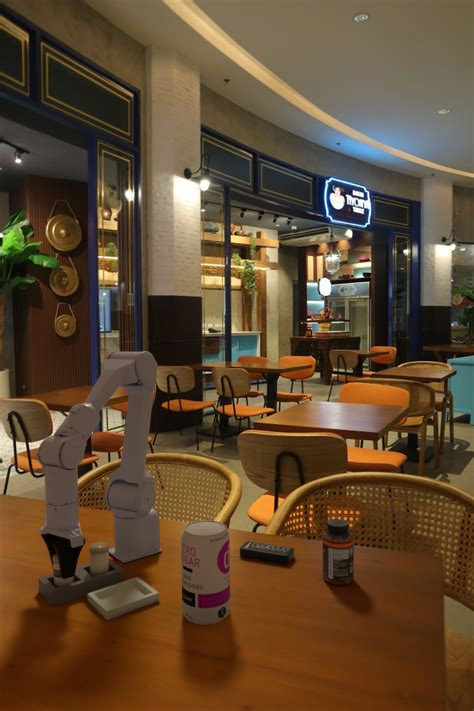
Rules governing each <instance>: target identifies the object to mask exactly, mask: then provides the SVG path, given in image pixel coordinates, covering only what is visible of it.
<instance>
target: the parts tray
mask: <svg viewBox="0 0 474 711" xmlns="http://www.w3.org/2000/svg"><path fill="white" fill-rule="evenodd" d="M87 602H88V603H89V605H90V606H91V607H93V608H94V609H95V610H96V611H97V612H98V613H99V614H100V615H101V616H102V617H103V618H104V619H105V620H106V621H108V620H112V619H114V618H117V617H120V616H122V615H125V614H128V613H131V612H133V611H136V610H138V609H139V610H140V608H144V607H146V606H149V605H151V604H154V603H157V602H160V592H158V590H156V589H155V588H153V587H152V586H150V585H149V584H148V583H147V582H145V581H144V580H142V579H141V578H140V577H138V576H136V577H133V578H129V579H127V580H124V582H121V583H118V584H115V585H112V586H109V587H106V588H103V589H100V590H97V591H94V592H91V593H88V595H87Z"/></svg>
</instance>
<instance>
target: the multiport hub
mask: <svg viewBox="0 0 474 711" xmlns="http://www.w3.org/2000/svg"><path fill="white" fill-rule="evenodd" d="M239 557H240V558H244V559H249V560H254V561H260V562H267V563H273V564H277V565H283V566H289V565H290V564H291V562H293V560H294V559H295V548H293V547H289V546H282V545H277V544H276V545H275V544H270V543H263V542H256V541H251V540H247V541H245V542H244V543H243V544H242V545H241V546H240V547H239Z"/></svg>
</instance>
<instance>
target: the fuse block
mask: <svg viewBox="0 0 474 711" xmlns="http://www.w3.org/2000/svg"><path fill="white" fill-rule="evenodd" d="M124 581H125V569H124V568H123V567H121V566H120V565H118V563H116V562H115V561H113V559H110V558H109V572H106V573H103V574H100V575H97V576H91V575H90V562H88V563H86V564H84V565H83V564H82V565H78V566H76V571H75V575H74V583H71V584H68V585H64V586H61V587H58V588H55V587H54V575H53V573H52V574H49V575H48V574H47V575H45V576H41V577H38V592H39V593H40V595H42V597H43V598H44V599H45V600H46V602H47V603H49V604H50V605H51V607H54V606H57V605H60V604H63V603H66V602H69V601H73V600H75V599H78V598H79V599H80V598H81V597H85V596H88V593H91V592H94V591H97V590H100V589H103V588H106V587H109V586H112V585H115V584H118V583H121V582H124Z"/></svg>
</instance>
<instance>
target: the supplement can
mask: <svg viewBox="0 0 474 711" xmlns="http://www.w3.org/2000/svg"><path fill="white" fill-rule="evenodd" d="M180 542H181V543H180V550H181V553H180V554H181V561H180V562H181V613H182V615H183V616H184V617H185V618H186V619H187V620H188V621H189V622H190V623H192V624H195V625H201V626H208V625H210V626H211V625H215V624H218V623H220V622H222V621H223V620H224V619H226V617H227V616H229V614H230V612H231V574H230V572H231V569H230V568H231V565H230V564H231V561H230V559H231V558H230V555H231V554H230V549H231V548H230V533H229V531H228V528H227V525H226V524H224V523H223V522H221V521H218V520H217V521H216V520H212V519H211V520H210V519H209V520H208V519H207V520H197V521H193V522H190V523H188V524H186V525H185V527H184V530H183V532H182V534H181V538H180Z"/></svg>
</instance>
